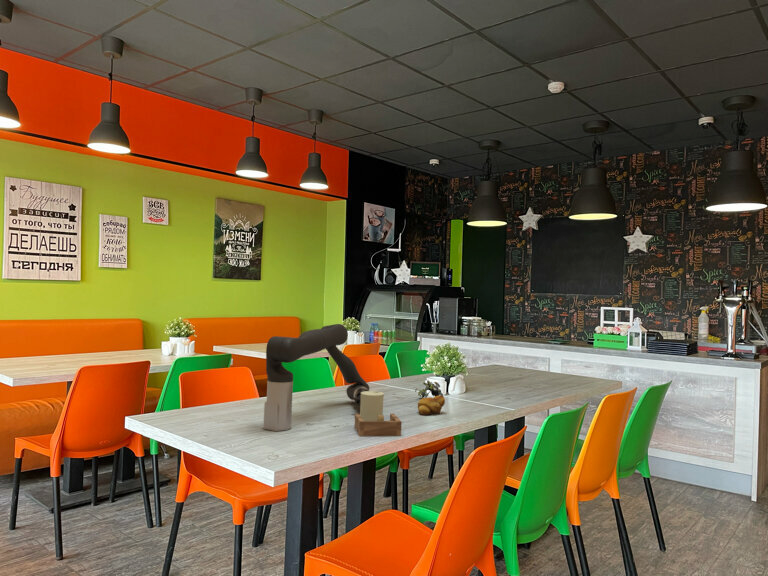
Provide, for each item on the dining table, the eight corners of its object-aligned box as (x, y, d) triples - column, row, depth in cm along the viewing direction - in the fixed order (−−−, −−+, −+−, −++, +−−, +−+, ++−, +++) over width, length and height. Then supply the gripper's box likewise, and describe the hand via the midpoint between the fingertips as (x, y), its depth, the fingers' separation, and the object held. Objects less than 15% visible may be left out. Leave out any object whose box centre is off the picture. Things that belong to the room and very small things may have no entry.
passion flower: (435, 410, 270) (449, 392, 266) (420, 408, 263) (433, 390, 260) (424, 394, 278) (437, 377, 274) (409, 392, 271) (422, 374, 268)
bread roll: (426, 417, 230) (427, 398, 230) (409, 413, 237) (410, 394, 237) (446, 413, 239) (447, 395, 239) (430, 409, 246) (430, 391, 246)
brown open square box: (401, 435, 197) (401, 416, 197) (359, 436, 194) (360, 416, 194) (393, 426, 210) (394, 408, 210) (354, 427, 208) (355, 408, 208)
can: (387, 422, 218) (388, 391, 218) (374, 426, 210) (376, 394, 210) (367, 418, 222) (368, 389, 223) (354, 422, 214) (356, 391, 215)
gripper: (348, 387, 237) (353, 395, 220) (378, 388, 240) (386, 395, 223) (347, 405, 237) (352, 413, 220) (377, 405, 240) (385, 413, 223)
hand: (369, 404), depth 221 cm, fingers closed
